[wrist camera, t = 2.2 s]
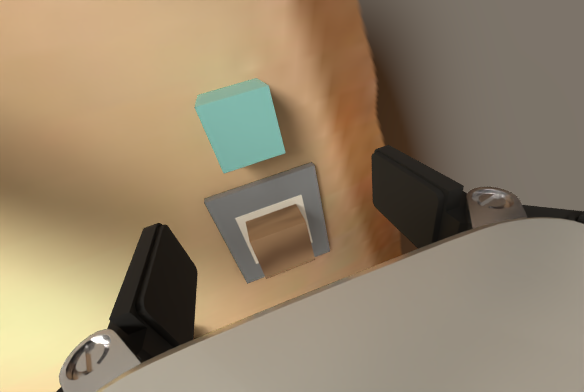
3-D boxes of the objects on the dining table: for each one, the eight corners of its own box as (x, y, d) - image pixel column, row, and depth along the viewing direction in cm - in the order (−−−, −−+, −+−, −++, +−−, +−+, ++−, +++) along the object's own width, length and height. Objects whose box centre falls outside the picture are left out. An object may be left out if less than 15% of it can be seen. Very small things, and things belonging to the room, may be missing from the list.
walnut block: (245, 221, 31) (249, 242, 28) (295, 203, 32) (305, 221, 29) (260, 257, 35) (266, 278, 32) (305, 240, 36) (315, 259, 32)
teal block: (197, 94, 23) (194, 107, 18) (256, 78, 24) (268, 85, 19) (220, 150, 27) (223, 173, 22) (271, 134, 27) (285, 153, 22)
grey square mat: (204, 198, 29) (204, 203, 28) (311, 162, 31) (315, 165, 30) (246, 278, 38) (247, 284, 37) (327, 246, 40) (330, 251, 39)
